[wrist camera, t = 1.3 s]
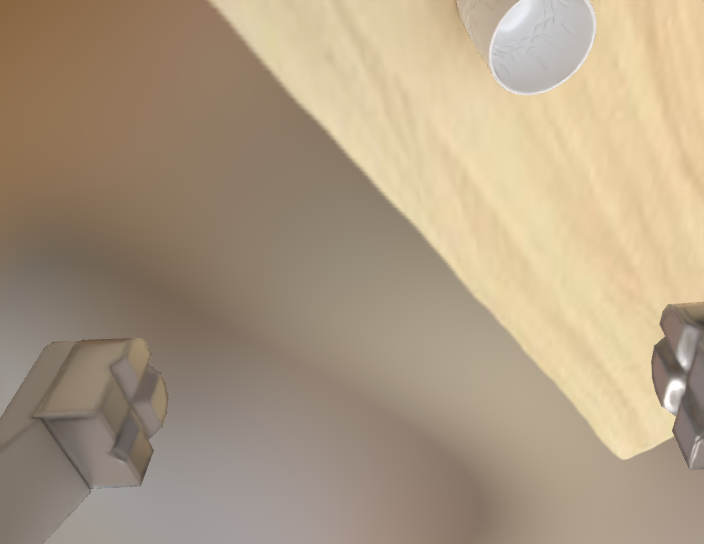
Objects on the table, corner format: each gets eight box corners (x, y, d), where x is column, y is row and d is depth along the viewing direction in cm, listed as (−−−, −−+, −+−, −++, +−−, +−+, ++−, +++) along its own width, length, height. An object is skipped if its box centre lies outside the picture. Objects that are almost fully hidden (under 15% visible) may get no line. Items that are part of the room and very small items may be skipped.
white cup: (472, 58, 54) (512, 114, 47) (432, -17, 49) (471, 33, 42) (554, 4, 52) (609, 54, 45) (521, -81, 47) (577, -39, 40)
